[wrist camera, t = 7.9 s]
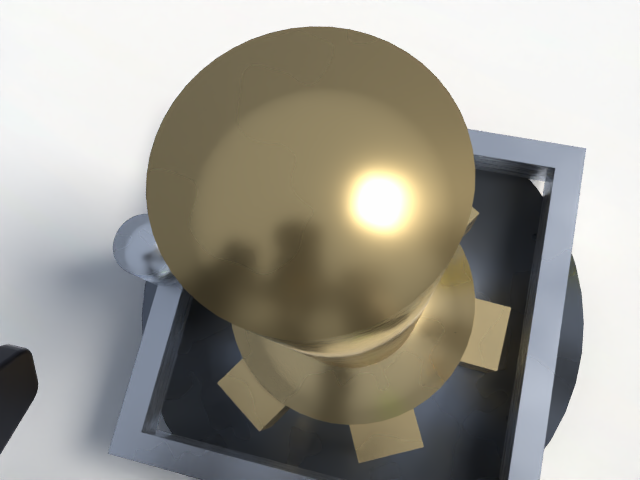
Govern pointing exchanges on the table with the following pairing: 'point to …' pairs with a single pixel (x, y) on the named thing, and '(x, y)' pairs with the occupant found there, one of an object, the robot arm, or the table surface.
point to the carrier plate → (432, 415)
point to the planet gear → (326, 229)
